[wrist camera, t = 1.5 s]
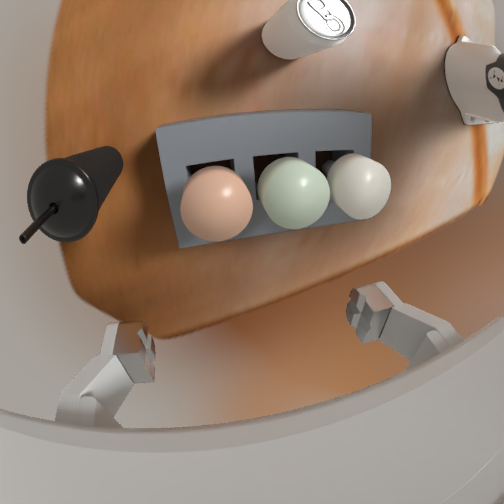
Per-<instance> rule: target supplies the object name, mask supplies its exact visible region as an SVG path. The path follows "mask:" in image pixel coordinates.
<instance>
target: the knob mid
mask: <svg viewBox="0 0 504 504" xmlns="http://www.w3.org/2000/svg"><path fill="white" fill-rule="evenodd" d="M257 191H258V197H259V199H260V202H261V203H262V205H263V207H264V209H265V210H266V212H267V214H268V215H269V217H270V218H271V219H272V221H273V222H275V223H276V224H277V225H279V226H281V227H283V228H287V229H300V228H304V227H307V226H309V225H311V224H313V223H314V222H316V221H317V220H318V219H319V218H320V217H321V216H322V215H323V213H324V212H325V210H326V208H327V206H328V203H329V199H330V188H329V184H328V181H327V179H326V178H325V176H324V175H323V174H322V173H321V172H320V171H319V170H318V169H316V168H315V167H313V166H311V165H310V164H308V163H307V162H305V161H303V160H301V159H299V158H295V157H284V158H280V159H277V160H275V161H273V162H272V163H270V164H269V165H268V166H267V167H266V168H265V169H264V171H263V172H262V174H261V175H260V178H259V181H258V186H257Z"/></svg>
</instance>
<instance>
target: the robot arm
mask: <svg viewBox="0 0 504 504" xmlns="http://www.w3.org/2000/svg"><path fill="white" fill-rule="evenodd" d="M445 74H446V80H447V84H448V88H449V91H450V93H451V96H452V98H453V100H454V102H455V103H456V105H457V106H458V108H459V110H460V112H461V115H462V118H463V121H464V123H465V124H467V125H475V124H485V123H499V122H503V121H504V54H501V53H500V52H499V50H498V49H496V48H495V46H493V45H488V44H481V43H473V42H472V41H471V40H470V39H468V38H467V37H466V36H463V35H460V36H459V38H458V40H457V42H456V43H455V44H453V45H452V46H451V47H450V48H449V49H448V51H447V54H446V59H445ZM349 297H350V298H351V300H350V302H349V303H348V304H347V307H346V317H347V319H348V322H349V323H350V325H351V326H353V327H355V328H356V332H355V333H356V334H357V336H358V337H359V339H360V341H361V342H362V344H363V343H367V342H370V341H374V340H377V339H379V340H380V341H381V342H383V343H384V344H386V345H387V346H389V347H390V348H392V349H393V350H395V351H396V352H398V353H400V354H401V355H403V356H404V357H406V358H407V359H409V360H410V363H409V365H408V366H407V368H406V371H404V372H402V373H399V374H397V375H395V376H393V377H390V378H388V379H385V380H383V381H381V382H378V383H376V384H373V385H371V386H368V387H365V388H363V389H360V390H357V391H354V392H352V393H349V394H346V395H343V396H340V397H337V398H334V399H330V400H327V401H324V402H320V403H317V404H313V405H310V406H306V407H302V408H298V409H295V410H291V411H286V412H282V413H277V414H273V415H268V416H263V417H258V418H253V419H247V420H241V421H234V422H228V423H220V424H212V425H202V426H192V427H177V428H147V429H146V428H135V429H134V428H123V427H122V426H121V425H120V424H119V423H118V422H117V421H116V420H115V419H114V418H113V417H114V416H115V414H116V413H117V411H118V409H119V407H120V406H121V405H122V403H123V401H124V400H125V398H126V397H127V395H128V394H129V392H130V390H131V389H132V387H133V386H134V383H147V382H154V379H155V367H154V365H153V363H152V362H153V361H154V360H155V353H156V352H155V345H154V341H153V338H152V336H151V335H150V334H149V333H148V326H147V323H146V321H128V322H115V323H108V324H107V326H106V329H105V334H104V337H103V341H102V345H101V350H100V354H99V355H96V356H95V357H94V358H93V359H92V360H91V361H90V362H89V363H88V364H87V365H86V366H85V368H84V369H83V370H82V371H81V372H80V373H79V374H78V375H77V376H76V377H75V378H74V379H73V380H72V381H71V382H70V383H69V385H68V386H67V387H66V388H65V389H64V390H63V391H62V392H61V393H60V398H59V403H58V407H57V413H56V418H55V421H50V420H45V419H40V418H35V417H30V416H26V415H21V414H18V413H14V412H10V411H7V410H3V409H0V504H504V314H502V315H500V316H499V317H498V318H496V319H495V320H493V321H492V322H490V323H489V324H488V325H486V326H485V327H483V328H482V329H480V330H479V331H477V332H476V333H474V334H472V335H471V336H469V337H468V338H466V339H465V340H463V339H462V338H461V336H460V335H459V334H458V333H457V332H456V330H455V329H454V328H453V327H452V326H451V325H450V323H449V322H447V321H445V320H443V319H440V318H438V317H436V316H434V315H431V314H429V313H427V312H425V311H423V310H420V309H418V308H416V307H413V306H411V305H409V304H407V303H406V304H403V303H402V302H401V300H400V299H399V298H398V297H397V296H396V295H395V293H394V292H393V291H392V290H391V289H390V288H389V287H388V286H387V284H386V283H384V282H382V281H381V282H377V283H374V284H370V285H365V286H361V287H357V288H353V289H352V290H351V291H350V295H349Z"/></svg>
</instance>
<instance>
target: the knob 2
mask: <svg viewBox="0 0 504 504" xmlns="http://www.w3.org/2000/svg"><path fill="white" fill-rule="evenodd" d="M322 170H323V173H324V174H325V175H327V181H328V184H329V188H330V199H331V200H332V201H333V202H334V203H335V204H336V205H337V206H338V207H340V208H341V209H342V210H343V211H344V212H345V213H346V214H348V215H349V216H350V217H352V218H354V219H360V220H362V219H368V218H371V217H373V216H374V215H376V214H377V213H379V212H380V211H381V210H382V208H383V207H384V206H385V204H386V203H387V201H388V198H389V196H390V191H391V180H390V176H389V173H388V171H387V170H386V168H385V167H384V166H383V165H381V164H380V163H378V162H376V161H374V160H371V159H369V158H367V157H365V156H362V155H360V154H347V155H344V156H342V157H341V158H339V159H338V160H337V161H336V162H335V161H333V160H327V161H326V162H324V164H323V166H322Z"/></svg>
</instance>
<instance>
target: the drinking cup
mask: <svg viewBox="0 0 504 504" xmlns="http://www.w3.org/2000/svg"><path fill="white" fill-rule="evenodd" d="M122 168H123V160H122V157H121V155H120V153H119V152H118V151H117V150H116V149H115V148H113V147H109V146H104V147H100V148H96V149H93V150H89V151H86V152H82V153H79V154H76V155H72V156H69V157H66V158H55V159H51V160H49V161H47V162H45V163H43V164H42V165H41V166H39V167H38V168H37V170H36V171H35V172H34V174H33V176H32V177H31V179H30V182H29V185H28V191H27V203H28V208H29V212H30V214H31V217H32V219H33V221H34V222H33V223H32V224H31V225H30V226H29V227H28V228H27V229H26V230H25V231H24V232H23V233H22V234H21V235H20V237H19V239H20V242H21V243H23V244H25V243H26V242H27V241H28V240H29V239H30V238H31V236H33V234H34V233H35V232H36V231H37V230H38V229H40V230H41V231H42V232H43V233H44V234H45V235H46V236H48V237H50V238H51V239H54V240H56V241H60V242H73V241H77V240H79V239H81V238H83V237H84V236H85V235H87V234H88V233H89V231H90V230H91V229H92V227H93V226H94V224H95V222H96V219H97V216H98V211H99V209H100V207H101V205H102V203H103V202H104V200H105V198H106V196H107V195H108V193H109V191H110V190H111V188H112V186H113V185H114V183H115V181H116V180H117V178H118V177H119V175H120V173H121V171H122Z"/></svg>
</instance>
